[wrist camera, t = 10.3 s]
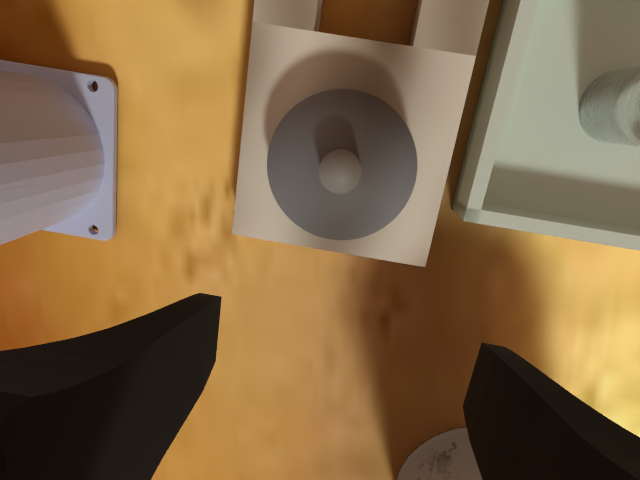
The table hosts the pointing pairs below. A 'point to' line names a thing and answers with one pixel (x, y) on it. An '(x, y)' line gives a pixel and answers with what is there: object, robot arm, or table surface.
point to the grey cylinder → (442, 459)
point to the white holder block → (352, 129)
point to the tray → (552, 126)
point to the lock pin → (613, 107)
